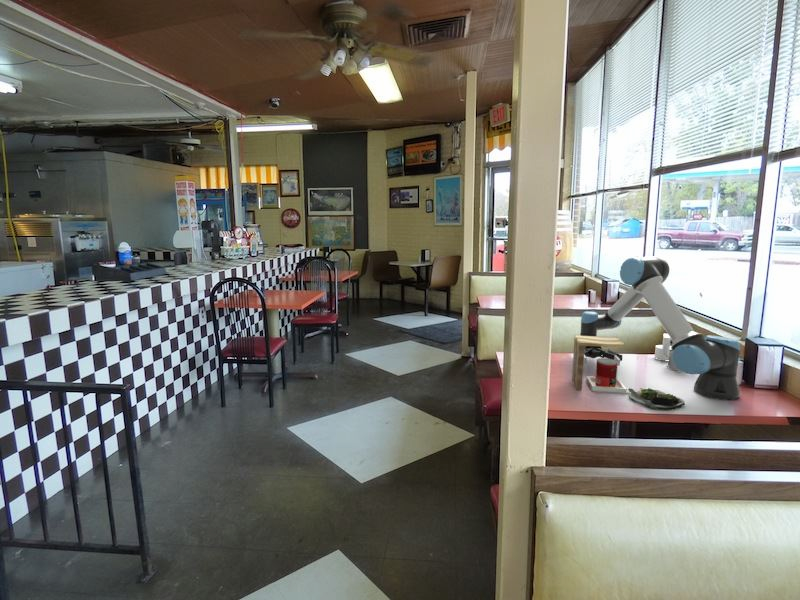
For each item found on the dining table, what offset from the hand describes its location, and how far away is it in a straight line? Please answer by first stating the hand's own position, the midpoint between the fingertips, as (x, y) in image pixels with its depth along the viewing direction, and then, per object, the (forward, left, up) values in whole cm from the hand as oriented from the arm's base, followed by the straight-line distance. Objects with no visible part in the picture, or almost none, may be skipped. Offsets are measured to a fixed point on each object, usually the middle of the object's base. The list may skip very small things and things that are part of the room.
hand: (602, 361), depth 196 cm
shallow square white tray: (-7, +4, -8) cm, 12 cm away
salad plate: (-26, -3, -9) cm, 28 cm away
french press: (+2, -45, -9) cm, 46 cm away
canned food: (-7, +4, -8) cm, 11 cm away
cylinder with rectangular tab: (+15, -53, -9) cm, 56 cm away
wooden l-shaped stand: (-5, +7, -9) cm, 12 cm away
